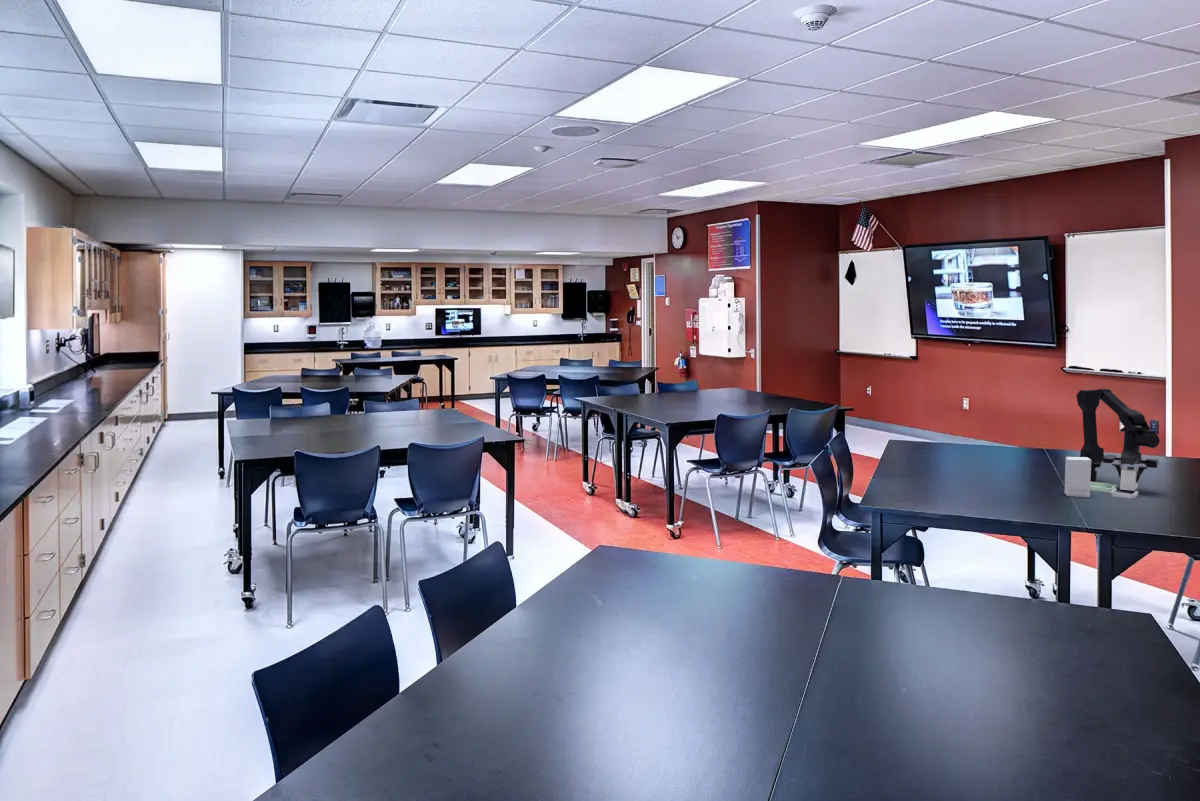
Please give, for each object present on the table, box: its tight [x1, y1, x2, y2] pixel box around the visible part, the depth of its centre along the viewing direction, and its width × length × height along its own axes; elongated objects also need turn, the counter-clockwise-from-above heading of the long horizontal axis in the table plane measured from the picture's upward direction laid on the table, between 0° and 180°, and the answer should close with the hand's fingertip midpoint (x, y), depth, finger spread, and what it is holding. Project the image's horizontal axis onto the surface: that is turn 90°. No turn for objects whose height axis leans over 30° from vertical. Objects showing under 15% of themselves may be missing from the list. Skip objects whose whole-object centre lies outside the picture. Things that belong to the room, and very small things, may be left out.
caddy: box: [1119, 465, 1138, 492], centre depth 341 cm, size 5×7×9 cm
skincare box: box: [1064, 456, 1092, 498], centre depth 333 cm, size 8×7×16 cm
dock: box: [1108, 489, 1139, 500], centre depth 333 cm, size 8×10×2 cm
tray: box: [1090, 481, 1118, 493], centre depth 344 cm, size 9×11×2 cm
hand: (1129, 481), depth 341 cm, fingers closed on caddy, 5 cm apart
